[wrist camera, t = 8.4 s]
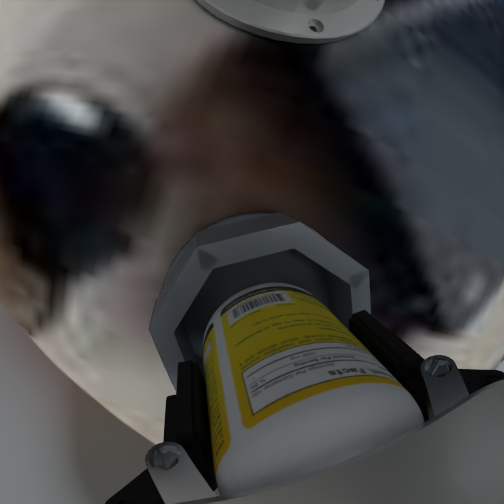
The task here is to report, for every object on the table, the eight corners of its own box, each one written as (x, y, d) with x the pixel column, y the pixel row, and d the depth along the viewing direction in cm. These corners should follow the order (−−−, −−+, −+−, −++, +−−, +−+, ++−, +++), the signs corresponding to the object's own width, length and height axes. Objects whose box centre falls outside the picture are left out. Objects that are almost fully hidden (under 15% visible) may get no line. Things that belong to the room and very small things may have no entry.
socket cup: (137, 240, 15) (119, 261, 11) (330, 194, 16) (365, 202, 12) (193, 394, 18) (195, 437, 14) (346, 351, 19) (373, 384, 15)
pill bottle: (274, 403, 15) (345, 580, 5) (176, 354, 14) (177, 590, 3) (350, 319, 15) (501, 473, 4) (257, 250, 13) (429, 470, 2)
